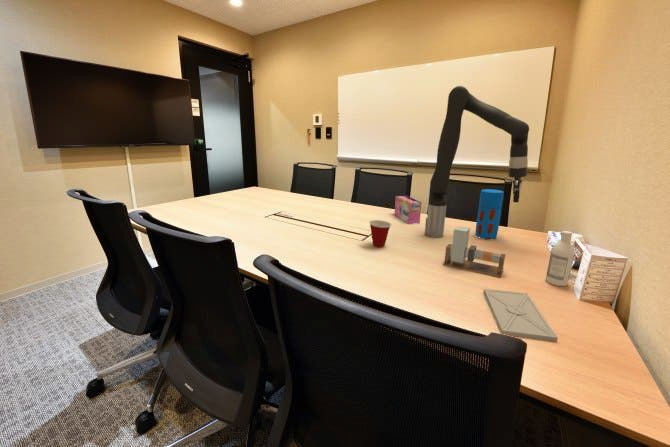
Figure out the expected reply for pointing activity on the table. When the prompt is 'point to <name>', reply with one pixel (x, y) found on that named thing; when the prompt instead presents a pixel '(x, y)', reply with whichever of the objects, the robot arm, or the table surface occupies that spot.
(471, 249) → the gray brick
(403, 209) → the pink cardboard box
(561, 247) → the bath foam
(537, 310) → the envelope
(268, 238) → the table surface
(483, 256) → the rail
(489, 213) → the blue tall rounded block
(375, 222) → the plastic cup
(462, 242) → the pale grey rectangular block
